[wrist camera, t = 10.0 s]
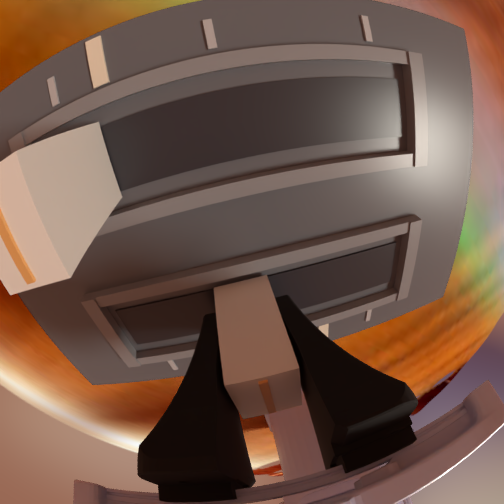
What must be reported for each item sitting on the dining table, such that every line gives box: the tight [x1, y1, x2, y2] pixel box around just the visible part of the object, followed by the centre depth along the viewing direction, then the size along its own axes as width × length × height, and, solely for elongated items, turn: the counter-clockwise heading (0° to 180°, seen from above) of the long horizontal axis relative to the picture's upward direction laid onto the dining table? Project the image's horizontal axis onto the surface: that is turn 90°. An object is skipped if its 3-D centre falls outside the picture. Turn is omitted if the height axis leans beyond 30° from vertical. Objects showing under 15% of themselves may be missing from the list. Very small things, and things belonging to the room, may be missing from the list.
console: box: [0, 0, 473, 385], centre depth 11 cm, size 18×26×2 cm
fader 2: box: [214, 275, 302, 419], centre depth 11 cm, size 3×2×5 cm
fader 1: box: [0, 122, 122, 295], centre depth 6 cm, size 3×2×5 cm
